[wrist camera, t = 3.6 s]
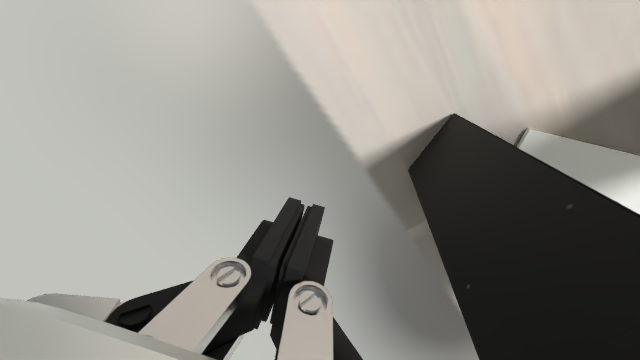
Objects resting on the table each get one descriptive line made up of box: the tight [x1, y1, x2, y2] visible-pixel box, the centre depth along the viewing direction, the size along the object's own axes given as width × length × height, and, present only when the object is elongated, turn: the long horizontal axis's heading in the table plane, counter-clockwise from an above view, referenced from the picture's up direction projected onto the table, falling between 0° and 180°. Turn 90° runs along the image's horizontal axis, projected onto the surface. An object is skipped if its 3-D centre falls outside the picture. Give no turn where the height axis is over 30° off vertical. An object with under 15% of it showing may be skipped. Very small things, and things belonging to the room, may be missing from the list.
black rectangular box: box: [408, 113, 640, 360], centre depth 16 cm, size 8×8×28 cm
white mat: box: [517, 128, 640, 214], centre depth 28 cm, size 20×14×1 cm
